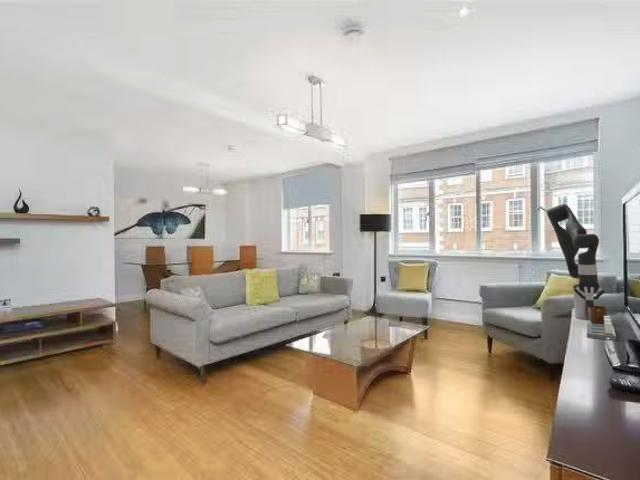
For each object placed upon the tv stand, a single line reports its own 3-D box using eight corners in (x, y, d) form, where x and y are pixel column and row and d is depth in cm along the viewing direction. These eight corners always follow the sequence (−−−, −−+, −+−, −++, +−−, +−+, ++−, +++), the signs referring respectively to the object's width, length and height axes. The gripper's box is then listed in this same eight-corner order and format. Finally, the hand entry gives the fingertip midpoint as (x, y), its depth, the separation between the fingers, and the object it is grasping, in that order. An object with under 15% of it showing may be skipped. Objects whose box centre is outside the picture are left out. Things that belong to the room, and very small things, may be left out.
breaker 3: (605, 331, 167) (604, 322, 167) (612, 332, 165) (611, 322, 166) (605, 333, 165) (605, 323, 165) (612, 333, 163) (611, 323, 163)
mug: (609, 327, 183) (608, 310, 183) (591, 325, 187) (590, 309, 188) (606, 322, 193) (605, 306, 193) (590, 321, 197) (589, 305, 197)
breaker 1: (604, 324, 179) (603, 315, 180) (610, 325, 178) (609, 316, 178) (604, 326, 177) (603, 316, 177) (610, 326, 176) (610, 317, 176)
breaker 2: (604, 328, 173) (604, 318, 173) (611, 328, 172) (610, 319, 172) (605, 329, 171) (604, 320, 171) (611, 330, 169) (610, 320, 169)
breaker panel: (587, 326, 186) (587, 322, 186) (613, 329, 179) (613, 325, 179) (587, 337, 167) (586, 333, 167) (616, 340, 160) (616, 335, 160)
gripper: (571, 274, 171) (573, 307, 171) (605, 274, 163) (607, 309, 162) (571, 272, 177) (574, 305, 177) (604, 272, 169) (606, 306, 168)
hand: (590, 307), depth 170 cm, fingers closed
